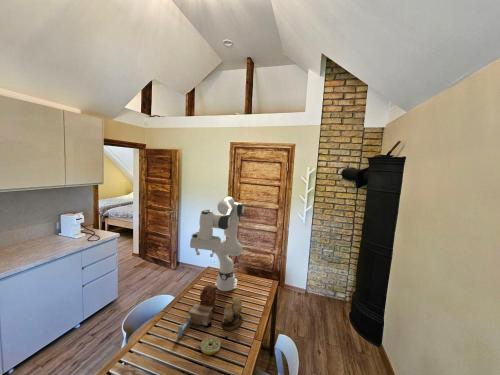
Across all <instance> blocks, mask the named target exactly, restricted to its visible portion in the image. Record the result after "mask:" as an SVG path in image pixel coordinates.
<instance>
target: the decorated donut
mask: <svg viewBox="0 0 500 375" xmlns="http://www.w3.org/2000/svg"><path fill="white" fill-rule="evenodd" d="M199 346H200V351H201V352H202V353H203V354H204V355H208V356H212V355H215V354H216V353H218V352H219V350H220V349H221V340H220V339H219V338H218V337H214V336H208V337H206V338H203V339H202V341H201V342H200V345H199Z"/></svg>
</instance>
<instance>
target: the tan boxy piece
mask: <svg viewBox="0 0 500 375" xmlns="http://www.w3.org/2000/svg"><path fill="white" fill-rule="evenodd" d="M212 309H213V307H210V306H204V305H200V303H199V304H197V303H194V304H193V306H192V307H191V308H190V310H189V311H188V314H189V316H190V317H191V323H190V324H188V326H187V327H186V328H185V329H190V328H191V326H192V325H193V324H197V325H202V326H204V327H205V326H208V325H209V323H210V322H211V319H212V317H213V316H212V315H213V311H212ZM213 310H214V309H213Z"/></svg>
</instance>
